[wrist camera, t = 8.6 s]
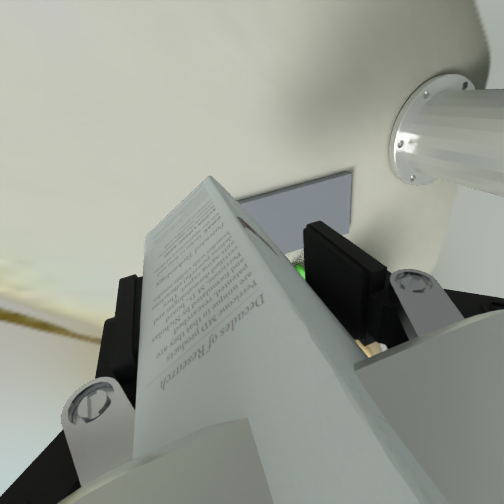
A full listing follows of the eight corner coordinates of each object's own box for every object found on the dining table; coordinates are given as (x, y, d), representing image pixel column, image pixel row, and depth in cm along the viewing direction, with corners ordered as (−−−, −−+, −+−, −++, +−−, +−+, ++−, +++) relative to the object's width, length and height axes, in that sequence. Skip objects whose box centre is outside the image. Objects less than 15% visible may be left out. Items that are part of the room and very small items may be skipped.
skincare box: (282, 248, 15) (541, 532, 5) (224, 302, 16) (364, 657, 6) (204, 166, 12) (518, 528, 2) (132, 238, 12) (95, 830, 2)
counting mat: (346, 171, 34) (351, 173, 33) (344, 229, 38) (349, 232, 37) (183, 216, 29) (184, 219, 29) (201, 276, 34) (202, 280, 33)
